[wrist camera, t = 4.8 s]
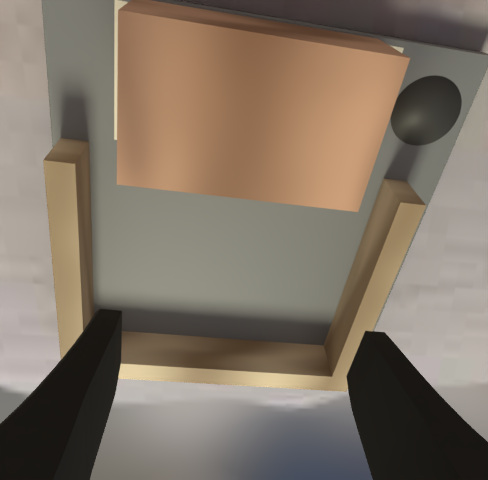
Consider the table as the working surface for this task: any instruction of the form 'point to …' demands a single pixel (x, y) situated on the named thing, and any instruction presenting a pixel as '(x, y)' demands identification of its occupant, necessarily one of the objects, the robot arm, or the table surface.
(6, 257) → the table surface
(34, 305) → the table surface
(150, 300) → the floor board
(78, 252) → the oak cubby
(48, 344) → the table surface
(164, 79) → the terracotta slab
